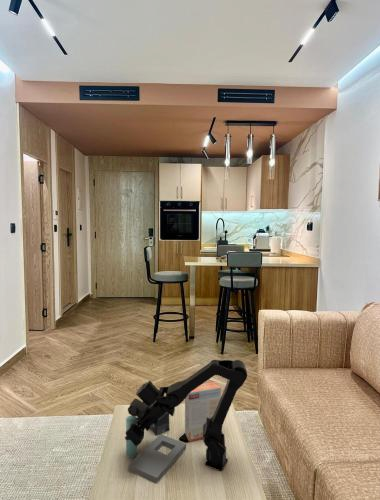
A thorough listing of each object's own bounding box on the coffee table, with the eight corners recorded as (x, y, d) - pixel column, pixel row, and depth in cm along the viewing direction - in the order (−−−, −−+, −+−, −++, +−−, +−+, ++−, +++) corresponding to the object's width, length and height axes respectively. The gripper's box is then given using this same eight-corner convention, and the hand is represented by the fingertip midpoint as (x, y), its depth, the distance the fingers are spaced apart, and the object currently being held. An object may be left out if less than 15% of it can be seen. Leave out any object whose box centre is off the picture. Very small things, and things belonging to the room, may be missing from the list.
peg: (139, 452, 127) (139, 417, 126) (132, 458, 123) (132, 422, 122) (130, 448, 129) (130, 414, 128) (124, 454, 125) (123, 419, 124)
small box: (141, 420, 148) (141, 394, 147) (155, 415, 152) (155, 390, 151) (155, 436, 137) (155, 408, 136) (169, 430, 141) (170, 403, 140)
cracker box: (214, 427, 143) (216, 380, 142) (220, 435, 138) (221, 387, 136) (184, 433, 139) (184, 385, 137) (188, 442, 133) (189, 392, 131)
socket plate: (186, 448, 129) (186, 443, 129) (156, 483, 112) (156, 477, 112) (160, 438, 135) (160, 433, 135) (128, 470, 118) (128, 464, 118)
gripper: (150, 383, 132) (124, 405, 136) (130, 408, 114) (102, 433, 118) (169, 405, 131) (142, 427, 134) (152, 434, 113) (122, 458, 116)
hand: (128, 435), depth 126 cm, fingers closed on peg, 4 cm apart
